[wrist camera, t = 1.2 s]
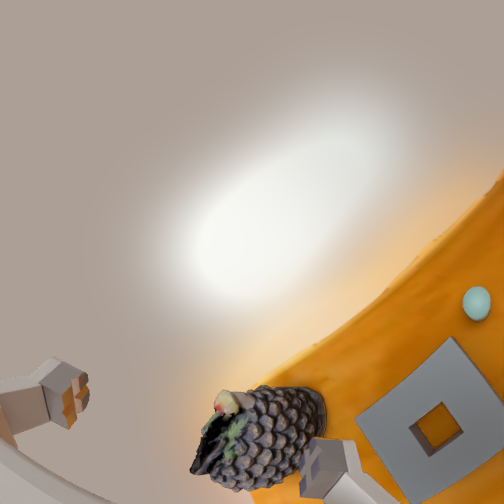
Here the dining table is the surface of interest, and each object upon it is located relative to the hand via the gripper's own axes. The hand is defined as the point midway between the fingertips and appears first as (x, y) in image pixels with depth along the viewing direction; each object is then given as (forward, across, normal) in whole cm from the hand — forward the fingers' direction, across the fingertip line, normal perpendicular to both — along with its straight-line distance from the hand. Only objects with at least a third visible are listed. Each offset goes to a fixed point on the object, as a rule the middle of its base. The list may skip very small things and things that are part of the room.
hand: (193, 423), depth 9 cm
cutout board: (+23, -35, +18) cm, 46 cm away
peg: (+29, -36, 0) cm, 46 cm away
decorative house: (+37, -18, +35) cm, 53 cm away
